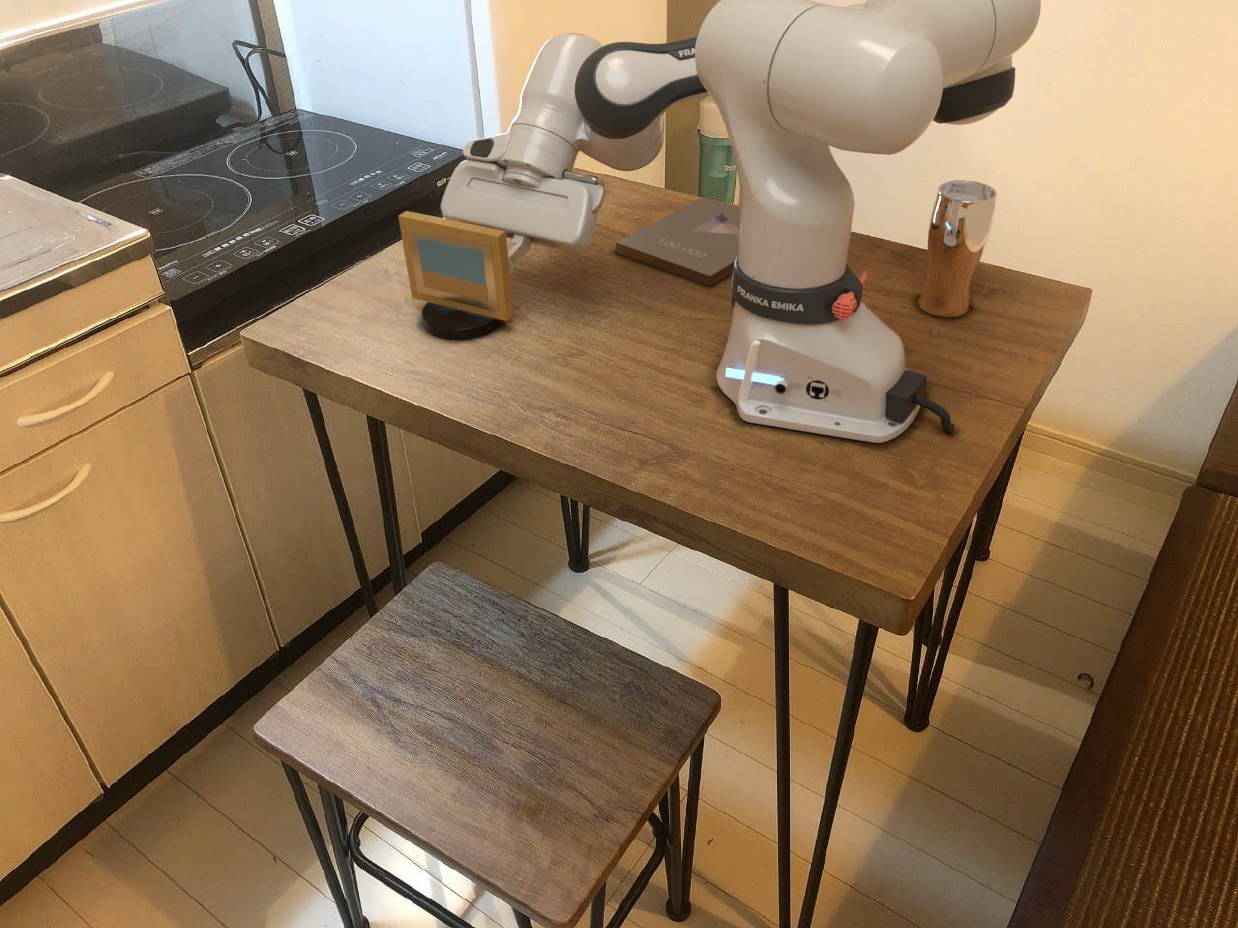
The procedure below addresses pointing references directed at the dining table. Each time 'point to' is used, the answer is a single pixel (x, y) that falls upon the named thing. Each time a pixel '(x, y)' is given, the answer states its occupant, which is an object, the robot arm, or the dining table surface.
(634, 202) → the dining table surface
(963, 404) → the dining table surface
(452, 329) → the frame stand
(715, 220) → the play button award
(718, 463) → the dining table surface
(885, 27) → the robot arm
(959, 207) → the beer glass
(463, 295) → the picture frame
